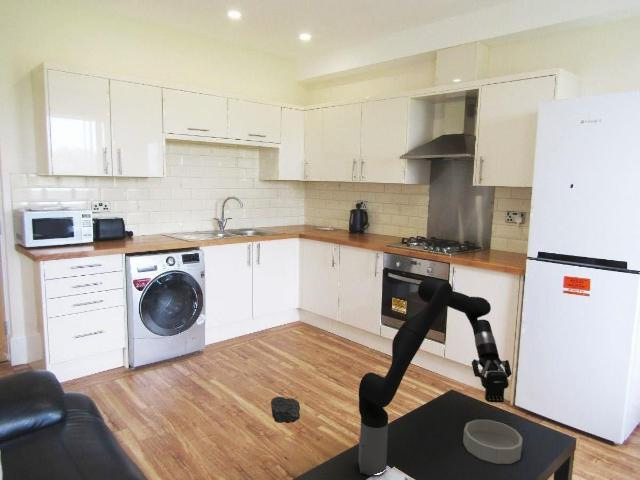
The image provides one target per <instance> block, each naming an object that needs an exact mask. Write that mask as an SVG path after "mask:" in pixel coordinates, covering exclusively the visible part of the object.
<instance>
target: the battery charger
mask: <svg viewBox="0 0 640 480" xmlns="http://www.w3.org/2000/svg"><path fill="white" fill-rule="evenodd" d="M504 372H505V371H504ZM504 372H502V371H488V372H487V371H486V374H485V377H486V381H487V385H488V387H487V388H484V389H485V390H484V400H485V401H486V402H488V403H496V404H498V403H499V404H500V403H501V404H503V403H504V401H505V390H506V389H507V388H506V385H507V379H508V377H506V375H505V373H504ZM505 388H506V389H505Z"/></svg>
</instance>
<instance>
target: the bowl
mask: <svg viewBox="0 0 640 480" xmlns="http://www.w3.org/2000/svg"><path fill="white" fill-rule="evenodd" d="M462 444H463V445H464V447H465V449H466V450H467V452H469V453H470V454H471V455H472V456H474V457H476V458H478V459H480V460H483V461H484V462H489V463H491V464H494V465H495V464H496V465H504V464H505V465H512V464H513V463H515V462H517V461H520V460H521V458H522V457H521V456H522V451H523V450H522V448H523V437H522V435H521V434H520V433H519V432H518V430H517V429H516V428H513V427H512V426H509V425H507V424H505V423H503V422H501V421H500V422H499V421H496V420H493V419H474V420H470V421H468V422H466V423H465V426H464V429H463V443H462Z"/></svg>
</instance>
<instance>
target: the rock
mask: <svg viewBox="0 0 640 480" xmlns="http://www.w3.org/2000/svg"><path fill="white" fill-rule="evenodd" d="M270 406H271V407H270V408H271V416H272V418H273V420H274V422H275V423H278V424H282V423H286V424H290V423H295V422H297V421H299V420H300V417H301V413H300V410H301V406H300V402H299V401H298V399H295V398H292V397H290V398H289V397H288V398H286V397H284V396H275V397H273V398H271V400H270Z"/></svg>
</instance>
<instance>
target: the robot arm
mask: <svg viewBox="0 0 640 480" xmlns="http://www.w3.org/2000/svg"><path fill="white" fill-rule="evenodd" d="M417 295H418V297H419V298H420V300H421V301H422V302H425V303H427V305H426V306H425V307H424V308H423V309H422V310H421V311H419V312H417V313H416V314H415V315H413V316H411V317H409V318H408V319H407V320H406V321H404V322H403V323H402V324H401V325H400V327H399V328H398V331H397V332H396V334H395V335H394V338H393V339H392V344H391V354H392V355H391V357H392V358H391V365H390V367H389V369H388V371H387V373H386V375H385V376H384V377H383V376H382V375H380V374H377V373H375V372H367V373H365V374H364V375H363V376H362V378H361V379H360V382H359V387H358V412H359V415H360V431H359V433H360V434H359V435H360V436H359V437H358V461H357V462H358V463H357V464H358V467H359V473H360V474H364V475H367V476H370V477H372V476H371V475H374V474H377V473H380V472H383V471H384V470H385V469H386V470H387V456H388V454H387V452H388V429H389V414H388V411H387V410H386V409H385V407H388V406H389V405H390V403H392V400H394V398H395V396H396V394H397V392H398V389H399V387H400V385H401V383H402V380H403V379H404V376H405V374H406V372H407V370H408V368H409V366H410V365H411V363H412V361H413V359H414V358H415V356H416V354H417V353H418V351H419V350H420V348H421V346H422V344H423V342H425V341H424V340H425V339H426V337H427V335H428V333H429V332H430V330H431V328H432V327H433V325H434V323H435V322H436V320H437V319H438V317H440V316H441V314H442V312H443V311H444V310H445V308H446V307H448V308H451V309H454V310H456V311H458V312H461V313H464V315H465V316H466V318H467V320H468V322H469V324H470V325H471V328H472V332H473V336H474V337H473V338H474V343H475V348H476V351H477V357H478V360H477V359H475V358H474V359H473V360H472V361H471V367H472V371H473V374H474V377H476V378H480V383H481V387H483V388H484V389H485V388H487V387H488V385H487V381H486V374H487V372H488V371H502V372H504V373H505V375H506V377H507V385H506V388H505V390H506V389H507V388H509V386H510V383H509V379H508V378H510V377H511V376H512V369H511V366H510V361H509V360H508V359H505V360H501V358H500V354H499V351H498V347H497V343H496V339H495V336H494V334H493V331H492V327H491V323H490V321H489V320H487V319H479V318H483V316H484V317H485V316H487V315H489V314H490V312H491V309H492V308H491V307H492V306H491V304H490V302H489V301H488V300H487V299H486V298H484V297H480V296H469V295H466V293H465V294H464V293H462V292H458V291H454V290H453V287H452V284H451V283H450V282H448V281H446V280H440V279H435V278H425V279H422V280H421V281H420V283H419V285H418V288H417ZM479 365H480V366H481V368H482V369H481V372H480V369H479ZM501 365H502V366H501Z"/></svg>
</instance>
